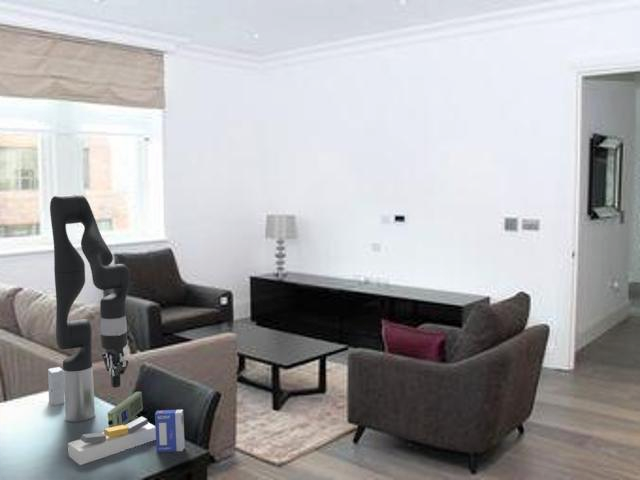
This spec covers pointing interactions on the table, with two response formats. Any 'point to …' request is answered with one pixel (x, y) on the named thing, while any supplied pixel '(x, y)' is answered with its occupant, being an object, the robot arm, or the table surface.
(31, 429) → the table surface
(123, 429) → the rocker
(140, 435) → the power strip
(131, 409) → the handheld radio
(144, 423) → the block
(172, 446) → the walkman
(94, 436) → the grey flat block
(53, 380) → the skincare box
